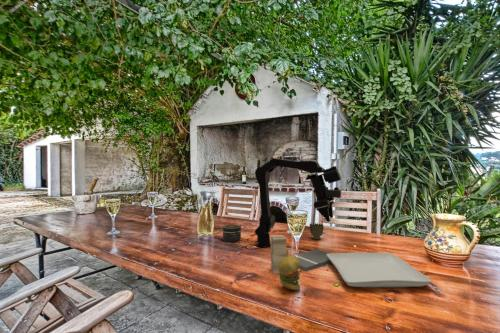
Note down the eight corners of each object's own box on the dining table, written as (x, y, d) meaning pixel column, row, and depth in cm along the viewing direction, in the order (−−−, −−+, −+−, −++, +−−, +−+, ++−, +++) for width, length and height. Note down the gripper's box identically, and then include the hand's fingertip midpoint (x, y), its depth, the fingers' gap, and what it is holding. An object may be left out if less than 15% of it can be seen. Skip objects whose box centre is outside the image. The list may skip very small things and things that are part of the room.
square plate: (325, 261, 114) (325, 252, 114) (392, 261, 113) (391, 252, 113) (346, 292, 87) (346, 279, 87) (434, 292, 86) (433, 279, 86)
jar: (244, 240, 148) (244, 226, 148) (228, 244, 142) (228, 229, 142) (235, 236, 156) (234, 223, 156) (219, 239, 150) (219, 226, 150)
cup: (324, 241, 144) (323, 226, 144) (309, 240, 146) (309, 225, 146) (323, 237, 151) (323, 223, 151) (309, 237, 153) (309, 222, 153)
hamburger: (305, 292, 87) (305, 255, 87) (285, 296, 85) (284, 257, 85) (293, 282, 95) (293, 248, 94) (274, 286, 92) (274, 250, 92)
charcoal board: (283, 261, 115) (283, 257, 115) (316, 252, 126) (316, 248, 126) (306, 271, 104) (305, 267, 104) (340, 260, 115) (339, 256, 115)
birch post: (271, 268, 107) (270, 235, 107) (283, 268, 108) (283, 235, 108) (273, 274, 102) (273, 239, 102) (286, 273, 103) (286, 238, 103)
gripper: (333, 182, 115) (346, 219, 113) (339, 180, 132) (350, 211, 130) (308, 190, 119) (320, 225, 117) (316, 186, 136) (327, 217, 134)
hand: (330, 219), depth 124 cm, fingers open, 9 cm apart
